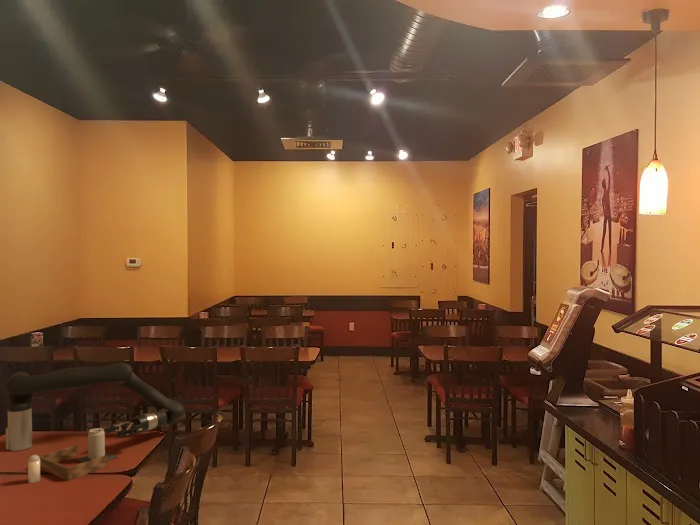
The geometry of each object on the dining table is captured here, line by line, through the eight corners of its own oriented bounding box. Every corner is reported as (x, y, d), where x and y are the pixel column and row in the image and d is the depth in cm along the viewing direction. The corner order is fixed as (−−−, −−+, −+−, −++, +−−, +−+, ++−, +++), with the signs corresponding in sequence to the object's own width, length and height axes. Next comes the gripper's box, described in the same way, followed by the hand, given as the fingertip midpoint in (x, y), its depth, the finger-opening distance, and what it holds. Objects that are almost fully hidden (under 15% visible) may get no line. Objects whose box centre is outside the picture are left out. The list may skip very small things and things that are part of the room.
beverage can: (98, 461, 230) (98, 432, 230) (84, 460, 231) (84, 431, 231) (108, 455, 236) (107, 428, 236) (94, 454, 237) (94, 427, 237)
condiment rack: (75, 455, 238) (75, 445, 238) (107, 466, 225) (106, 455, 225) (37, 467, 224) (37, 456, 224) (68, 480, 212) (68, 469, 212)
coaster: (101, 451, 242) (101, 450, 242) (118, 457, 235) (118, 456, 235) (75, 460, 232) (75, 459, 232) (91, 466, 225) (91, 465, 225)
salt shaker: (26, 483, 210) (26, 457, 209) (31, 478, 214) (30, 453, 213) (37, 482, 210) (37, 456, 210) (42, 478, 214) (41, 452, 214)
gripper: (135, 412, 256) (102, 421, 242) (154, 416, 248) (121, 426, 234) (135, 428, 256) (102, 438, 243) (154, 433, 248) (121, 444, 235)
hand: (111, 432), depth 238 cm, fingers open, 8 cm apart
